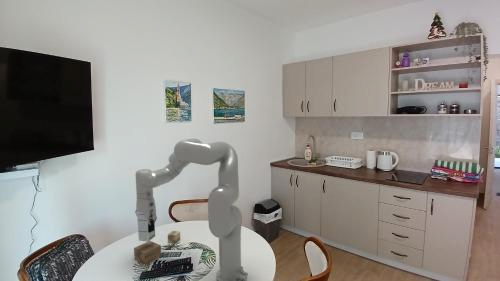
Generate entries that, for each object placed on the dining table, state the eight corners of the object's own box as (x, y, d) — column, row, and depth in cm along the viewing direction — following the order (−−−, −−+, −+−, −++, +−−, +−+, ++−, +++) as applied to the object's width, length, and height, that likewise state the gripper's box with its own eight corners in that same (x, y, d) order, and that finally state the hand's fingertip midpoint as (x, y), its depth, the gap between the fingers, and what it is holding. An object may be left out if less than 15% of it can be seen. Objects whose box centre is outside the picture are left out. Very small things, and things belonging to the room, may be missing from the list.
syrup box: (148, 241, 127) (147, 213, 125) (138, 240, 128) (136, 212, 127) (155, 236, 132) (154, 208, 131) (145, 235, 134) (143, 208, 132)
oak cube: (180, 239, 150) (180, 231, 150) (175, 244, 146) (175, 235, 145) (172, 239, 152) (172, 230, 151) (167, 243, 147) (167, 234, 146)
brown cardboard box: (161, 256, 132) (160, 245, 132) (145, 265, 125) (144, 253, 124) (150, 251, 137) (149, 240, 137) (134, 259, 130) (133, 247, 129)
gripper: (162, 195, 126) (164, 231, 128) (141, 190, 136) (142, 223, 138) (149, 200, 120) (150, 237, 122) (127, 193, 130) (129, 228, 132)
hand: (146, 229), depth 130 cm, fingers closed on syrup box, 7 cm apart
